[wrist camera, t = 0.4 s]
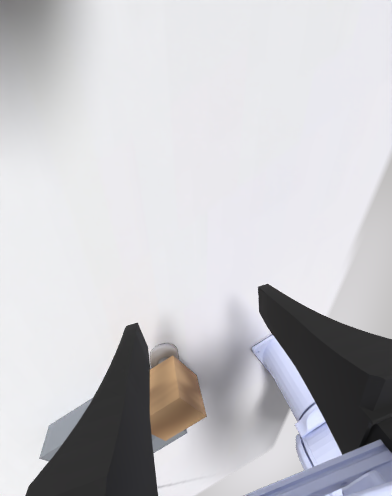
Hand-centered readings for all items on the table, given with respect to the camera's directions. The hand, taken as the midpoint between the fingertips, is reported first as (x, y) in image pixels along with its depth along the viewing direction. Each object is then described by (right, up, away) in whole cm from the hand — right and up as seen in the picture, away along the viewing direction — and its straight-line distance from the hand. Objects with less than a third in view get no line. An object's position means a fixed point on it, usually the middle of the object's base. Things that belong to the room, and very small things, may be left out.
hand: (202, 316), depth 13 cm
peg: (-4, -9, +15) cm, 18 cm away
